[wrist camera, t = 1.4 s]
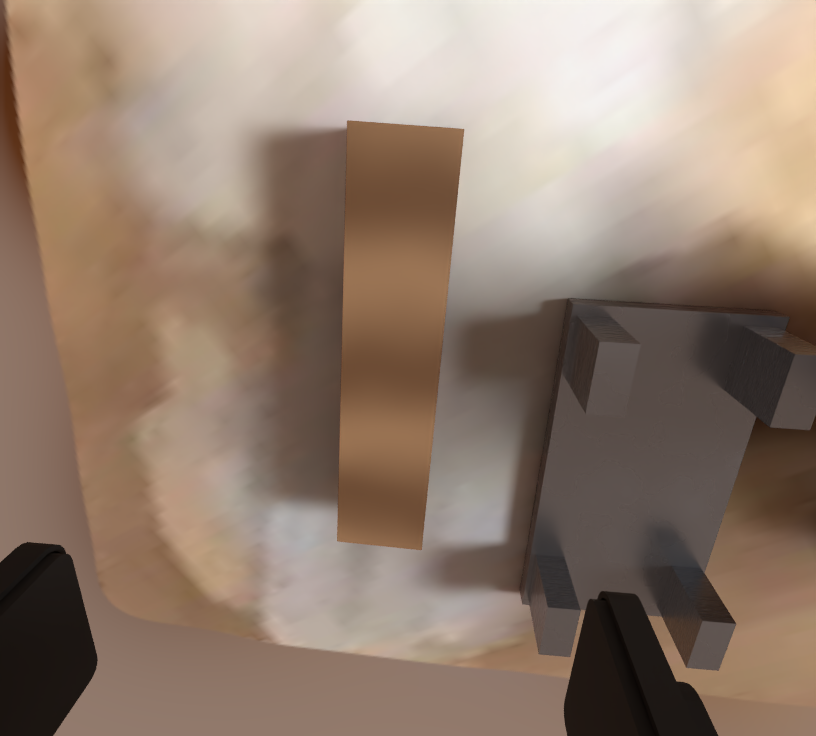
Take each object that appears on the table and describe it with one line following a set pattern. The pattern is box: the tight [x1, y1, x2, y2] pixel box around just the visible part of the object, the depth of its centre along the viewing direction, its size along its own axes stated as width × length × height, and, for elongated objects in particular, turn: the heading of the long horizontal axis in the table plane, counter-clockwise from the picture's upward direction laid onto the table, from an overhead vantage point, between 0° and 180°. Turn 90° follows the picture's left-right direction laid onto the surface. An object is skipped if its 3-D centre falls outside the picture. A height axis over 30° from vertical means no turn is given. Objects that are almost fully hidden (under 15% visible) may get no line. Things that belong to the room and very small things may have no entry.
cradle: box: [520, 298, 816, 671], centre depth 24 cm, size 17×9×4 cm, turn 177°
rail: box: [337, 121, 464, 550], centre depth 23 cm, size 18×4×4 cm, turn 176°
